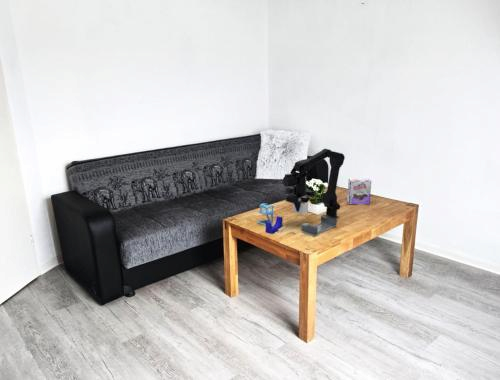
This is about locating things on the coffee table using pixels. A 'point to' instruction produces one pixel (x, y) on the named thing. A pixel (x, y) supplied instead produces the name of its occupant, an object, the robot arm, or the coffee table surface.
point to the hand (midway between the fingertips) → (300, 210)
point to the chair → (266, 213)
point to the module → (301, 208)
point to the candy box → (359, 191)
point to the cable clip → (276, 226)
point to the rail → (319, 226)
